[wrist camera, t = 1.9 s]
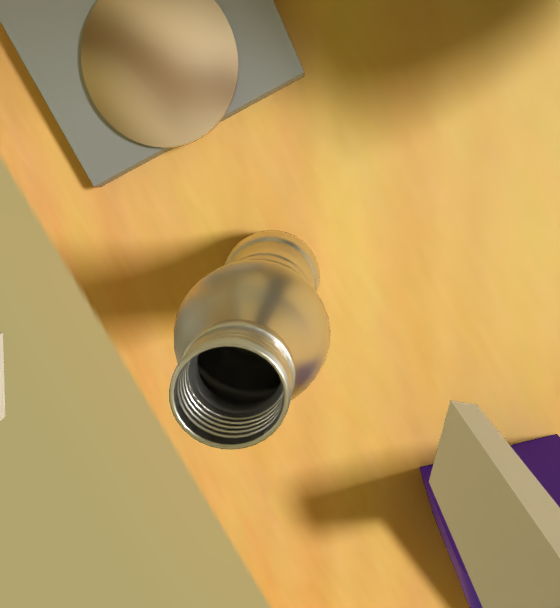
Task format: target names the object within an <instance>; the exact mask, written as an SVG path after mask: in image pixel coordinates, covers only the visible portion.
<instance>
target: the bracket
mask: <svg viewBox="0 0 560 608" xmlns="http://www.w3.org/2000/svg"><path fill="white" fill-rule="evenodd" d="M510 446H511V447H512V449H513V450H514V451H515V452H516V454H517V455H518V456H519V457H520V459H521V460H522V461H523V462H524V464H525V465H526V466H527V467H528V469H529V470H530V471H531V472H532V474H533V475H534V476H535V477H536V479H537V480H538V481H539V482H540V484H541V485H542V486H543V487H544V489H545V490H546V491H547V492H548V494H549V495H550V496H551V497H552V499H553V500H554V501H555V502H556V504H557V505H558V506H559V507H560V437H559V436H558V435H557V434H555V435H551V436H547V437H543V438H539V439H534V440H530V441H526V442H522V443H518V444H514V445H510ZM432 468H433V464H432V465H428V466H424V467H420V470H421V474H422V477H423V481H424V484H425V488H426V491H427V495H428V498H429V502H430V505H431V509H432V512H433V515H434V517H435V520H436V523H437V525H438V528H439V530H440V533H441V535H442V538H443V540H444V543H445V546H446V548H447V551H448V553H449V556H450V558H451V561H452V564H453V566H454V569H455V571H456V574H457V576H458V579H459V582H460V584H461V587H462V589H463V592H464V594H465V597H466V600H467V602H468V605H469V607H470V608H483V607H482V605H481V603H480V600H479V598H478V596H477V593H476V591H475V589H474V586H473V584H472V582H471V579H470V577H469V575H468V572H467V570H466V568H465V565H464V563H463V561H462V558H461V556H460V554H459V551H458V549H457V547H456V544H455V542H454V540H453V537H452V535H451V533H450V530H449V528H448V526H447V523H446V521H445V519H444V516H443V514H442V512H441V509H440V507H439V505H438V502H437V500H436V498H435V495H434V493H433V491H432V488H431V486H430V484H429V479H430V475H431V471H432Z"/></svg>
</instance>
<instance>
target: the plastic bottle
mask: <svg viewBox="0 0 560 608" xmlns="http://www.w3.org/2000/svg"><path fill="white" fill-rule="evenodd" d="M319 282H320V271H319V265H318V262H317V260H316V257H315V255H314V254H313V252H312V250H311V249H310V248H309V247H308V246H307V245H306V244H305V243H304V242H303V241H302V240H300V239H299V238H298V237H296V236H294V235H291V234H289V233H287V232H282V231H269V230H267V231H262V232H257V233H255V234H252V235H250V236H248V237H246V238H245V239H243V240H241V241H240V242H239V243H238V244H237V245H236V246H235V247H234V248H233V249H232V251H231V252H230V254H229V255H228V257H227V259H226V261H225V264H224V266H222V267H219V268H218V269H216V270H214V271H213V272H211V273H209V274H208V275H206V276H205V277H203V278H202V279H200V280H199V281H198V282H197V283H196V284H195V285H194V286H193V287H192V288H191V289H190V291H189V292H188V293H187V295H186V296H185V298H184V299H183V301H182V303H181V305H180V308H179V310H178V312H177V315H176V320H175V326H174V350H175V355H176V359H177V363H178V365H177V367H176V369H175V371H174V373H173V376H172V379H171V383H170V388H169V401H170V405H171V409H172V412H173V414H174V416H175V419H176V421H177V422H178V423H179V425H180V426H181V427H182V429H183V430H184V431H185V432H187V433H188V434H189V435H190V436H191V437H193V438H194V439H196V440H197V441H199V442H201V443H203V444H206V445H208V446H211V447H215V448H220V449H241V448H246V447H249V446H253V445H256V444H258V443H259V442H261V441H263V440H265V439H266V438H268V437H269V436H270V435H271V434H273V433H274V432H275V431H276V429H277V428H278V427H279V426H280V425H281V423H282V421H283V419H284V417H285V415H286V413H287V411H288V407H289V404H290V401H291V400H293V399H295V398H296V397H297V396H298V395H299V394H301V393H302V392H303V391H304V390H305V389H306V388H307V387H308V386H309V385H310V383H311V382H312V381H313V380H314V378H315V377H316V376H317V374H318V373H319V371H320V369H321V368H322V366H323V364H324V362H325V360H326V357H327V353H328V350H329V346H330V325H329V318H328V315H327V312H326V310H325V307H324V304H323V302H322V300H321V298H320V297H319V295H318V294H317V291H318V287H319Z"/></svg>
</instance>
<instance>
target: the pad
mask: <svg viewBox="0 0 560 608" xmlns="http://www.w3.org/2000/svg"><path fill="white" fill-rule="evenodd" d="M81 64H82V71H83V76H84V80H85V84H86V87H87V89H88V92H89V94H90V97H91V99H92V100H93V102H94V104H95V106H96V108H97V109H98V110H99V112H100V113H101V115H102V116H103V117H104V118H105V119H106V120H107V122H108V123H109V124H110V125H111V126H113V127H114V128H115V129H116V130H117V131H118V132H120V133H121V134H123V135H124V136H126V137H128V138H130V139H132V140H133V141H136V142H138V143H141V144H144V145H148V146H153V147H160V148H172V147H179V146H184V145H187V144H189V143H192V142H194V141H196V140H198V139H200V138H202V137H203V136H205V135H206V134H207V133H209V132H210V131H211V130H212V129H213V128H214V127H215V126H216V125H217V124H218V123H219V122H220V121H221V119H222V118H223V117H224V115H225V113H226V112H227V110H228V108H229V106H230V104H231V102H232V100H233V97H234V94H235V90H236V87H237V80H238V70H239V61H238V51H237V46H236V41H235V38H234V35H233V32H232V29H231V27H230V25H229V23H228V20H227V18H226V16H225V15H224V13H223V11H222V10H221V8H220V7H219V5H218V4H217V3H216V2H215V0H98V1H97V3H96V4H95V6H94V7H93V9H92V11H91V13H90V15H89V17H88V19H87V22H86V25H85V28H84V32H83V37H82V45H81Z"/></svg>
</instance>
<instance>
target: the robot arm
mask: <svg viewBox="0 0 560 608" xmlns="http://www.w3.org/2000/svg"><path fill="white" fill-rule="evenodd" d="M4 394H5V391H4V355H3V333H0V421H1V420H2V419H3V418H4V417H5V395H4ZM429 484H430V486H431V488H432V491H433V493H434V495H435V498H436V500H437V502H438V505H439V507H440V509H441V512H442V514H443V516H444V519H445V521H446V523H447V526H448V528H449V530H450V533H451V535H452V537H453V540H454V542H455V544H456V547H457V549H458V551H459V554H460V556H461V558H462V561H463V563H464V565H465V568H466V570H467V572H468V575H469V577H470V579H471V582H472V584H473V586H474V589H475V591H476V593H477V596H478V598H479V600H480V603H481V605H482V607H483V608H560V507H559V506H558V505H557V504H556V502H555V501H554V500H553V499H552V497H551V496H550V495H549V494H548V492H547V491H546V490H545V489H544V487H543V486H542V485H541V484H540V482H539V481H538V480H537V479H536V477H535V476H534V475H533V474H532V472H531V471H530V470H529V469H528V467H527V466H526V465H525V464H524V462H523V461H522V460H521V459H520V457H519V456H518V455H517V454H516V452H515V451H514V450H513V449H512V447H511V446H510V445H509V444H508V443H507V441H506V440H505V439H504V438H503V436H502V435H501V434H500V433H499V431H498V430H497V429H496V428H495V426H494V425H493V424H492V423H491V421H490V420H489V419H488V418H487V416H486V415H485V414H484V413H483V411H482V410H481V409H480V408H479V406H478V405H477V404H471V403H464V402H458V401H451V400H450V404H449V408H448V412H447V415H446V419H445V423H444V426H443V430H442V434H441V438H440V441H439V445H438V449H437V453H436V456H435V460H434V464H433V468H432V471H431V475H430V479H429Z"/></svg>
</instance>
